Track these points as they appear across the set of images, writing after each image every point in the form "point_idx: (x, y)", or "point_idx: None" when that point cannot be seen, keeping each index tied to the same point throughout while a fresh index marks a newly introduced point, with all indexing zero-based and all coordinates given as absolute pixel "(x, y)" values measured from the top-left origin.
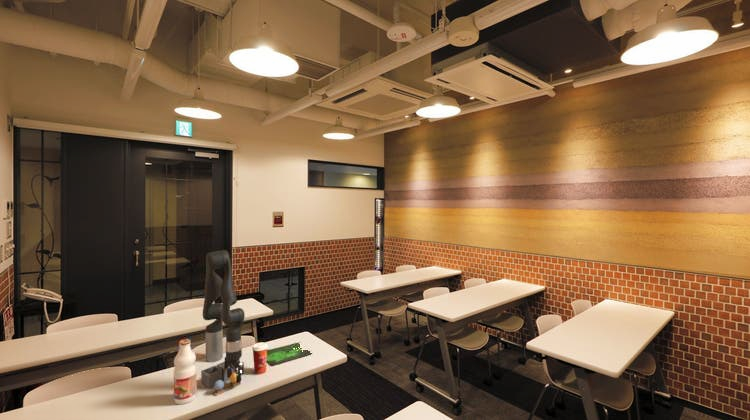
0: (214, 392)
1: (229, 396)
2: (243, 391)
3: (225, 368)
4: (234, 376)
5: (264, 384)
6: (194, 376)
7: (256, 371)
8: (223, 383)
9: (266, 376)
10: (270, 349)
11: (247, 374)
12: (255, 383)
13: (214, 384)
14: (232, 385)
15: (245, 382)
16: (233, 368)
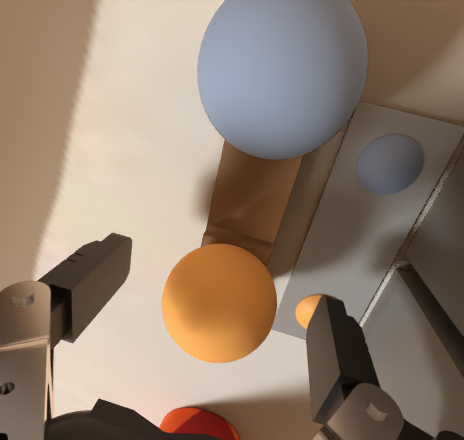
0: None
1: (109, 72)
2: (75, 198)
3: (461, 433)
4: (174, 300)
5: None
6: None
7: (187, 431)
8: (207, 114)
9: (112, 395)
10: None
11: (262, 398)
12: (99, 315)
13: (349, 1)
14: (223, 229)
15: None
16: (13, 419)
